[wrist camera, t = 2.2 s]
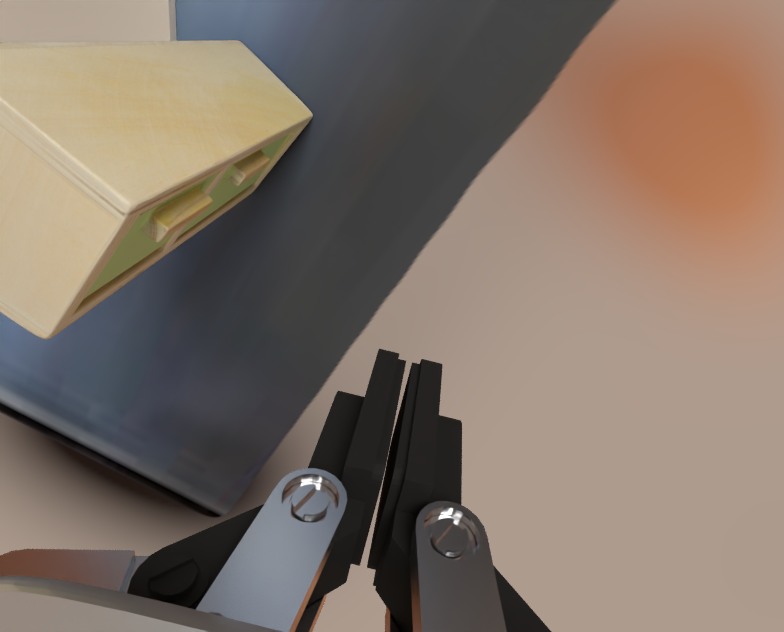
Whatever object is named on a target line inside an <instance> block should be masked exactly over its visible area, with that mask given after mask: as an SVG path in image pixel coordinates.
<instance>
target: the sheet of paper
mask: <svg viewBox="0 0 784 632" xmlns="http://www.w3.org/2000/svg"><path fill="white" fill-rule="evenodd" d="M61 41H71V42H97V41H177V35H176V8H175V0H0V42H61Z"/></svg>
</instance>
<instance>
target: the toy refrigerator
mask: <svg viewBox="0 0 784 632" xmlns="http://www.w3.org/2000/svg"><path fill="white" fill-rule="evenodd" d="M312 117H313V115H312V113H311V111H310V110H309V109H308V108H307V107H306V106H305V105H304V104H303V103H302V102H301V101H300V99H299V98H298V97H297V96H296V95H295V94H294V93H293V92H292V91H291V90H289V89H288V88H287V87H286V86H285V85H284V84H283V83H282V82H281V81H280V80H279V79H278V78H277V77H276V76H275V75H274V74H273V73H272V72H271V71H270V70H269V69H268V68H267V67H266V66H265V65H264V64H263V63H262V62H261V61H260V60H259V59H258V58H257V57H256V56H255V55H254V54H253V53H252V52H251V51H250V50H249V49H248V48H247V47H246V46H245V45H244V44H243V43H242V42H240V41H236V40H226V41H97V42H71V41H61V42H0V312H1V313H3V314H4V315H6V316H7V317H9V318H10V319H11V320H13V321H14V322H16V323H17V324H19V325H20V326H22V327H23V328H25V329H27V330H28V331H30V332H31V333H33V334H35V335H36V336H38V337H40V338H43V339H49V338H51V337H53V336H55V335H56V334H58V333H59V332H60V331H62V330H63V329H65V328H66V327H67V326H69V325H70V324H71V323H73V322H74V321H76V320H77V319H78V318H80V317H81V316H83V315H84V314H85V313H87V312H88V311H89V310H91V309H92V308H93V307H95V306H96V305H97V304H99V303H100V302H102V301H103V300H104V299H106V298H107V297H109V296H110V295H112V294H113V293H114V292H116V291H117V290H119V289H120V288H121V287H123V286H124V285H125V284H127V283H128V282H129V281H131V280H132V279H134V278H135V277H136V276H138V275H139V274H140V273H142V272H143V271H144V270H146V269H147V268H149V267H150V266H151V265H153V264H154V263H155V262H157V261H158V260H160V259H161V258H162V257H164V256H165V255H167V254H168V253H169V252H171V251H172V250H174V249H175V248H176V247H178V246H179V245H180V244H182V243H183V242H185V241H186V240H187V239H189V238H190V237H192V236H193V235H194V234H196V233H197V232H199V231H200V230H201V229H203V228H204V227H206V226H207V225H208V224H210V223H211V222H213V221H214V220H215V219H217V218H218V217H220V216H221V215H222V214H224V213H225V212H227V211H228V210H229V209H231V208H232V207H233V206H235V205H236V204H238V203H239V202H240V201H242V200H243V199H244V198H246V197H247V196H249V195H250V194H251V193H252V192H253V191H254V190H255V189H256V188H257V187H258V185H259V184H260V183H261V182H262V180H263V179H264V178H265V177H266V175H267V174H268V173H269V172H270V170H271V169H272V168H273V167H274V165H275V164H276V163H277V162H278V160H279V159H280V158H281V157H282V155H283V154H284V153H285V152H286V150H287V149H288V148H289V146H290V145H291V144H292V143H293V141H294V140H295V139H296V138H297V136H298V135H299V134H300V133H301V131H302V130H303V129H304V128H305V126H306V125H307V124H308V123H309V121H310V120H311V119H312Z"/></svg>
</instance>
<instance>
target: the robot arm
mask: <svg viewBox="0 0 784 632" xmlns="http://www.w3.org/2000/svg"><path fill="white" fill-rule="evenodd" d="M398 357H399V354H398V353H395V352H391V351H386V350H382V349H379V351H378V354H377V357H376V361H375V364H374V368H373V371H372V374H371V378H370V381H369V384H368V388H367V391H366V395H365V397H361V396H357V395H353V394H349V393H345V392H340V391H338V392H337V394H336V396H335V398H334V401H333V404H332V406H331V409H330V412H329V414H328V417H327V419H326V422H325V425H324V427H323V430H322V433H321V435H320V438H319V440H318V443H317V446H316V448H315V451H314V453H313V456H312V459H311V462H310V464H309V466H308V468H304V469H300V470H296V471H293V472H291V473H290V474H288V475H286V476H285V477H284V478H283V479H282V480H281V481H280V482H279V483H278V484H277V486H276V487H275V489H274V490H273V492H272V493H271V495H270V497H269V498H268V500H267V501H266V503H265V504H263V505H261V506H259V507H256V508H254V509H252V510H249V511H247V512H245V513H242V514H240V515H238V516H236V517H233V518H231V519H229V520H226V521H224V522H222V523H219V524H217V525H215V526H213V527H210V528H208V529H206V530H203V531H201V532H199V533H196V534H195V535H192V536H189V537H187V538H185V539H183V540H180V541H178V542H176V543H173V544H171V545H169V546H166V547H164V548H162V549H161V550H159V551H157V552H155V553H154V554H152V555H150V556H135V551H130V550H69V549H23V550H15V551H11V552H8V553H5V554H3V555H0V632H312V631H313V628H314V626H315V624H316V621H317V619H318V617H319V614H320V612H321V609H322V607H323V605H324V602H325V599H326V595H327V594H328V593H329V592H331V591H333V590H334V589H336V588H338V587H339V586H341V585H342V584H344V583H346V581H347V576H348V573H349V569H350V565H351V564H355V565H360V562H361V559H362V555H363V551H364V547H365V543H366V540H367V536H368V532H369V528H370V525H371V521H372V517H373V514H374V510H375V506H376V502H377V499H378V495H379V491H380V487H381V484H382V480H383V476H384V471H385V467H386V471H385V477H384V481H383V487H382V492H381V497H380V502H379V507H378V512H377V518H376V523H375V528H374V533H373V538H372V544H371V549H370V554H369V559H368V565H367V567H368V568H371V569H375V570H376V572H375V578H374V583H373V585H374V586H376V591H377V593H378V594H379V596H380V597H381V599H382V600H383V602H384V603H385V605H386V606H387V607H386V614H385V632H551V631H550V630H549V629H548V627H547V626H546V625H545V624H544V623H543V622H542V621H541V619H540V618H539V617H538V616H537V615H536V614H535V613H534V611H533V610H532V609H531V608H530V607H529V606H528V605H527V603H526V602H525V601H524V600H523V599H522V598H521V597H520V595H518V593H517V592H516V591H515V590H514V589H513V587H512V586H511V585H510V584H509V583H508V582H507V580H506V579H505V578H504V577H503V576H502V575H501V574H500V573H499V571H498V570H497V569H496V568H495V567H494V566H493V562H492V557H491V552H490V548H489V543H488V538H487V535H486V532H485V529H484V526H483V525H482V523H481V522H480V520H479V519H478V517H477V516H476V515H474V514H473V513H472V512H471V511H470V510H469V509H467V508H465V507H464V506H462V505H461V475H462V474H461V473H462V423H461V421H460V420H456V419H452V418H448V417H444V416H440V415H439V405H440V390H441V377H442V364H440V363H436V362H432V361H428V360H424V359H422V360H421V362H420V364H417V363H412V366H411V369H410V374H409V377H408V381H407V384H406V388H405V392H404V396H403V400H402V403H401V407H400V411H399V414H398V418H397V422H396V426H395V430H394V433H393V437H392V441H391V436H392V431H393V426H394V420H395V415H396V410H397V405H398V400H399V395H400V390H401V384H402V379H403V374H404V369H405V363H406V361H404V360H400V359H398ZM390 441H391V446H390ZM389 446H390V451H389ZM388 451H389V455H388ZM387 457H388V460H387ZM386 462H387V466H386Z"/></svg>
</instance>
